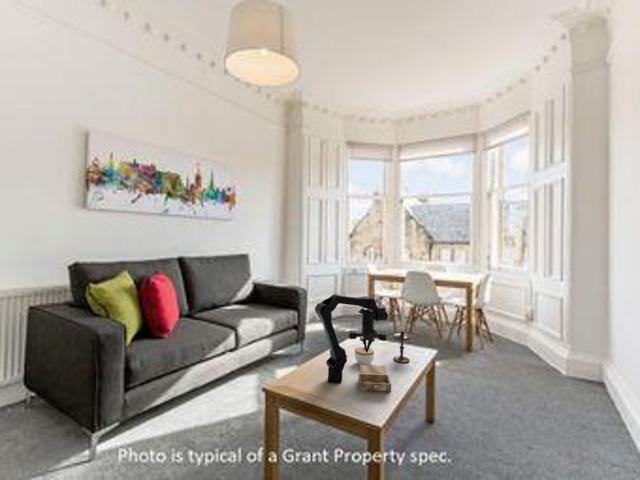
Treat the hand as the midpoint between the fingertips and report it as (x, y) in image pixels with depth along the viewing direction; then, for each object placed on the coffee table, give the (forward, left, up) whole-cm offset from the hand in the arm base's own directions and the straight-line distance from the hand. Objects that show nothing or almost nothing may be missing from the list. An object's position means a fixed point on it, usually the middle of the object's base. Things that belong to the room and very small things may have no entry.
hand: (366, 352), depth 178 cm
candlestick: (+22, +24, -12) cm, 35 cm away
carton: (+3, -12, -12) cm, 17 cm away
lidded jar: (0, +16, -12) cm, 20 cm away
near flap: (+3, -20, -7) cm, 22 cm away
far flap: (+3, -4, -7) cm, 9 cm away
